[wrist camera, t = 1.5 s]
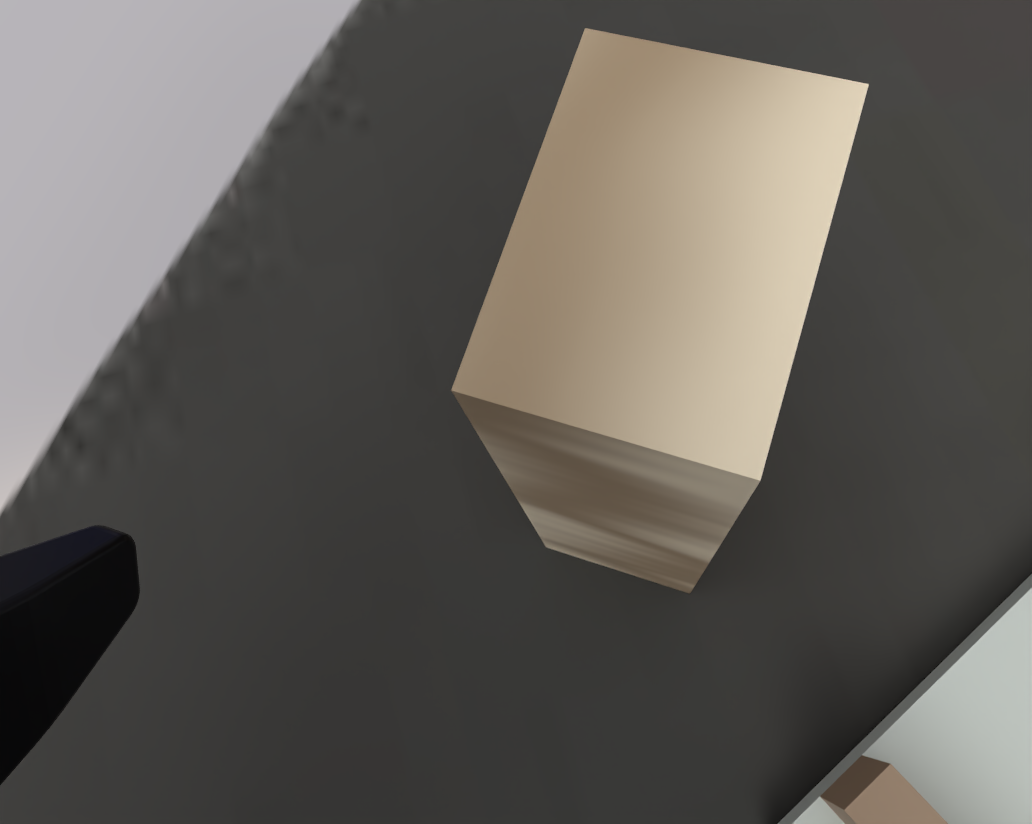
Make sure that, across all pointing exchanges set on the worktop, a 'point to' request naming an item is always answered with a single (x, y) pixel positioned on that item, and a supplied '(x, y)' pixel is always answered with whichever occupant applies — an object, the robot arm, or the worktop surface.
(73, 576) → the robot arm
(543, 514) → the maple plank
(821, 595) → the worktop surface
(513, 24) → the worktop surface
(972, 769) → the grooved board
